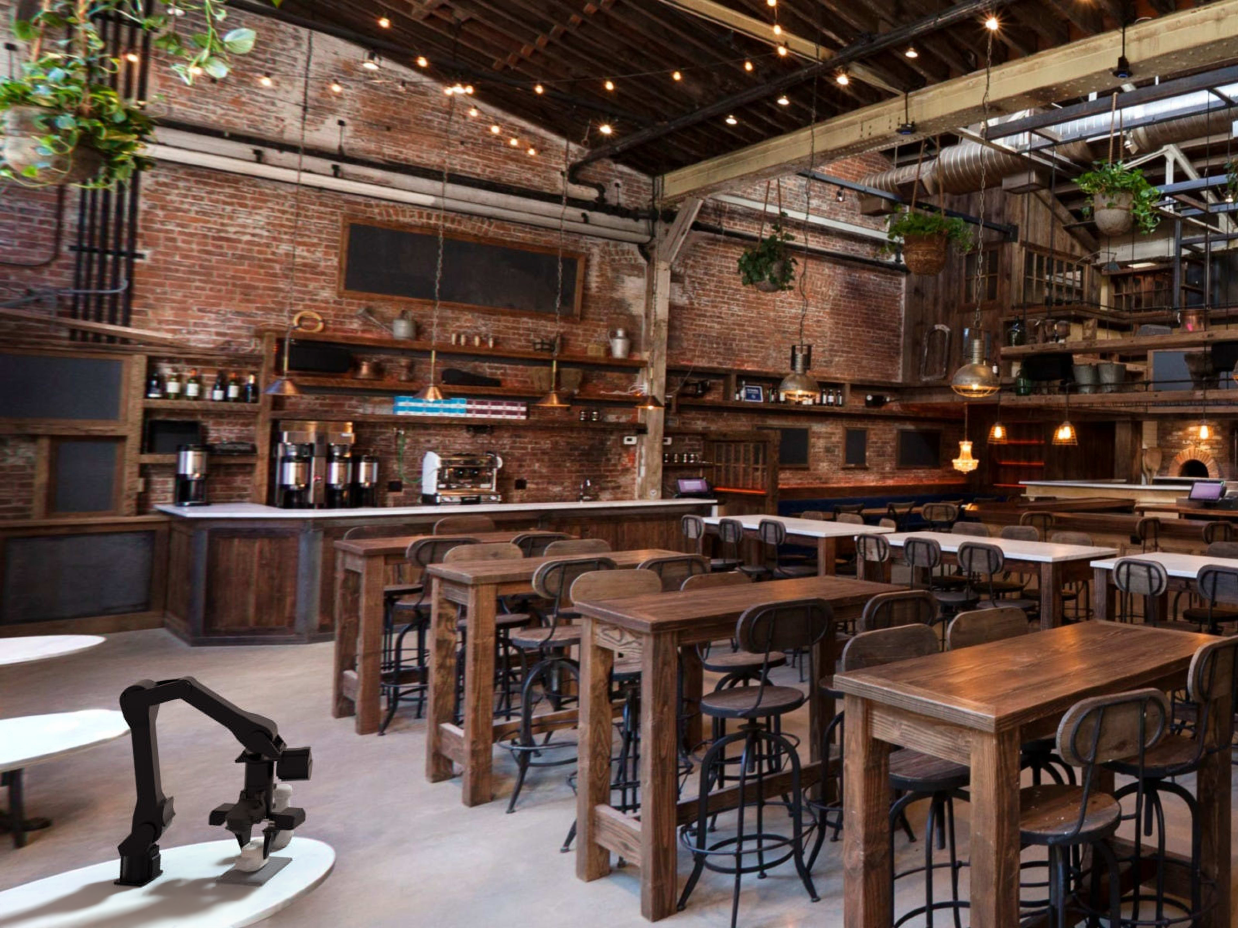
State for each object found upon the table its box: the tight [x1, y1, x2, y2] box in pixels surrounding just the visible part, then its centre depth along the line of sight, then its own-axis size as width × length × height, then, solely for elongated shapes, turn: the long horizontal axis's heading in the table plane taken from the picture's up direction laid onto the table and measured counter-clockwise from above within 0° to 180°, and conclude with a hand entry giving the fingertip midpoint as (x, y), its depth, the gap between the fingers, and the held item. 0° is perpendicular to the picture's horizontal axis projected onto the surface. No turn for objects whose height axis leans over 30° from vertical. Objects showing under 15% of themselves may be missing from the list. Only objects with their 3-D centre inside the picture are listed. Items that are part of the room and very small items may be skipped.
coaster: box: [215, 855, 293, 886], centre depth 171 cm, size 10×12×1 cm
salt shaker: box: [272, 783, 295, 849], centre depth 185 cm, size 6×6×13 cm
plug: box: [234, 837, 271, 872], centre depth 171 cm, size 9×4×4 cm, turn 174°
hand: (255, 858), depth 171 cm, fingers closed on plug, 4 cm apart
